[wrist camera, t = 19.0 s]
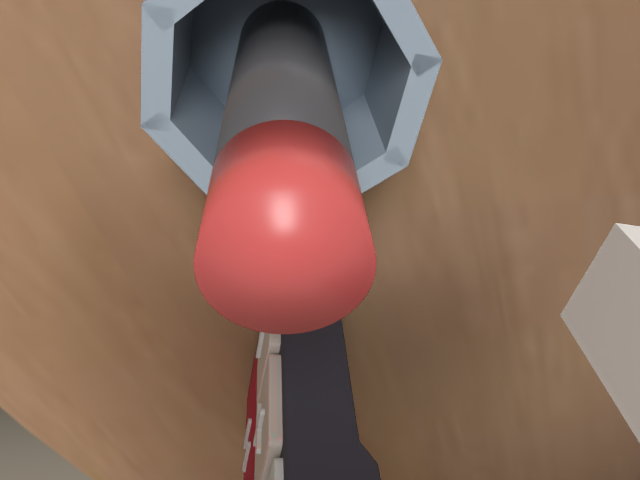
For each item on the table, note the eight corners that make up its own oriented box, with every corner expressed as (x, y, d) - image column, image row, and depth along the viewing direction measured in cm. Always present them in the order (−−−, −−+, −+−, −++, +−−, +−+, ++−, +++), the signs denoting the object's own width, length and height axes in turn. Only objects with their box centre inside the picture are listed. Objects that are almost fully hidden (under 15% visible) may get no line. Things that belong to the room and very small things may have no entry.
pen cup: (424, -62, 20) (473, -34, 15) (365, 155, 25) (388, 228, 20) (175, -118, 19) (141, -106, 14) (166, 125, 24) (139, 196, 19)
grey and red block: (266, 262, 28) (263, 568, 16) (345, 271, 29) (398, 570, 17) (243, 395, 35) (228, 688, 23) (308, 400, 35) (328, 685, 23)
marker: (335, 12, 21) (400, 211, 9) (314, 95, 23) (348, 343, 11) (247, -10, 20) (205, 176, 9) (233, 78, 22) (184, 322, 11)
